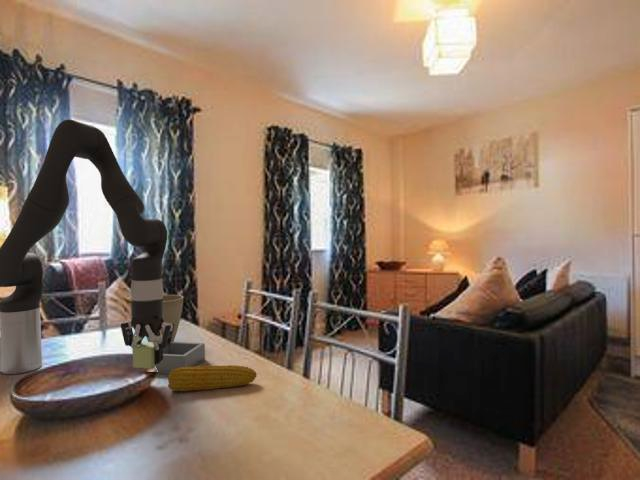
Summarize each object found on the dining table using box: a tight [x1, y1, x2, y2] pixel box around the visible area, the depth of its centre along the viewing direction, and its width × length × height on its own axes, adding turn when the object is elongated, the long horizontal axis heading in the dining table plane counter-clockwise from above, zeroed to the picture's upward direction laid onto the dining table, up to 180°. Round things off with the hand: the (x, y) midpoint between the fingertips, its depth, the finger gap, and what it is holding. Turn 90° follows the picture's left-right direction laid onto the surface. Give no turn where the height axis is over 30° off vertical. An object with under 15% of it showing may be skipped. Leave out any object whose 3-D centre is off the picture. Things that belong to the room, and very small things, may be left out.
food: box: [167, 364, 258, 392], centre depth 98 cm, size 21×6×6 cm, turn 103°
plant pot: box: [145, 294, 184, 342], centre depth 135 cm, size 15×15×16 cm
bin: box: [156, 341, 206, 374], centre depth 114 cm, size 12×12×5 cm
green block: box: [132, 341, 162, 369], centre depth 101 cm, size 5×5×5 cm
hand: (148, 362), depth 101 cm, fingers closed on green block, 5 cm apart
